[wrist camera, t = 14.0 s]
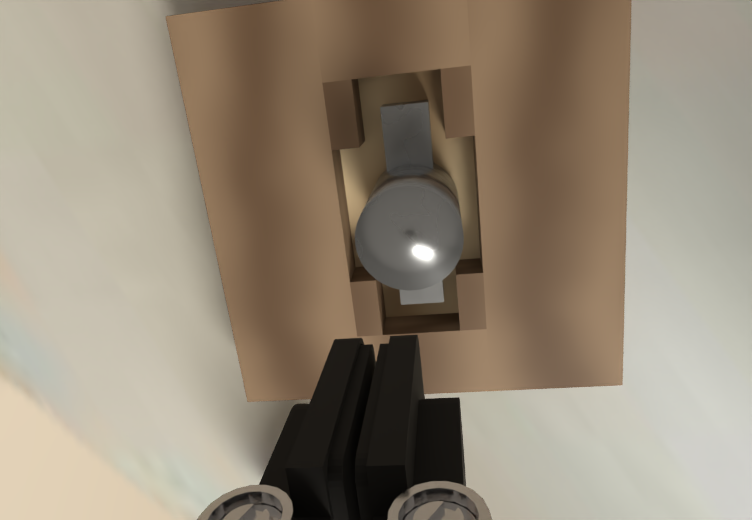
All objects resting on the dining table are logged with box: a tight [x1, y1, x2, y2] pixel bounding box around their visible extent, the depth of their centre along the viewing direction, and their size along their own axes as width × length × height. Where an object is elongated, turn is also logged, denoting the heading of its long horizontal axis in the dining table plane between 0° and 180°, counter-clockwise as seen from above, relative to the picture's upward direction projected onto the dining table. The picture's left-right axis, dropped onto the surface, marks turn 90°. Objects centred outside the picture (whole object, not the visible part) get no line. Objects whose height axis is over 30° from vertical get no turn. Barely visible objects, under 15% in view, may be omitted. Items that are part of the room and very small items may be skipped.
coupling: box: [355, 99, 464, 305], centre depth 24 cm, size 9×4×6 cm, turn 7°
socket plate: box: [166, 0, 631, 402], centre depth 26 cm, size 18×18×2 cm
